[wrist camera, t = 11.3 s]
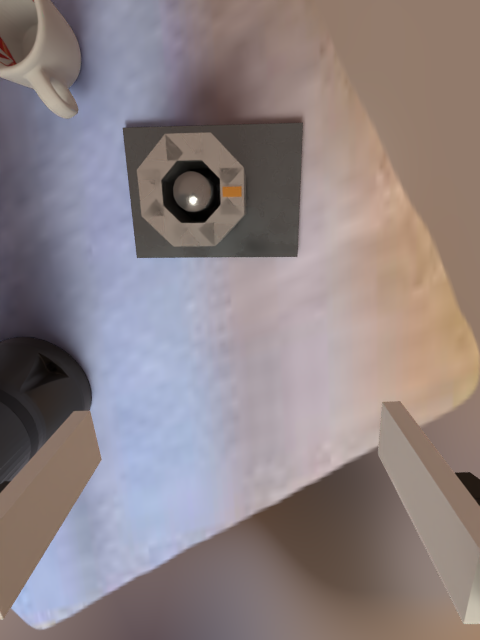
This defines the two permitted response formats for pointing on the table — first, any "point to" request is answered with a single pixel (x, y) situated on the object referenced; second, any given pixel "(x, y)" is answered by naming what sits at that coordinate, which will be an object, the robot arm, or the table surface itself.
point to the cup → (40, 52)
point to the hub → (161, 174)
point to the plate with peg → (204, 190)
